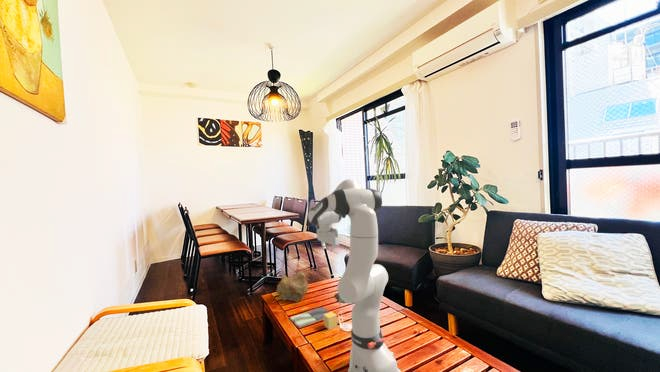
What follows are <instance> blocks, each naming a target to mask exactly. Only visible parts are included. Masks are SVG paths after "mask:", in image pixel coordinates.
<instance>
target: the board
mask: <svg viewBox="0 0 660 372" xmlns="http://www.w3.org/2000/svg"><path fill="white" fill-rule="evenodd" d="M329 312H330V311H329V310H328V309H326V308H325V307H323V306H320V307H317V308H314V309H311V310H308V311H305V312H303V313H299V314H296V315H293V316H291V317H289V320H290V321H291V322H292V323H294V325H295V326H296V327H298V329H300V328H304V327H307V326H309V325H312V324H314V323H318V322H320V321H324V316H323V314H326V313H329Z"/></svg>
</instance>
